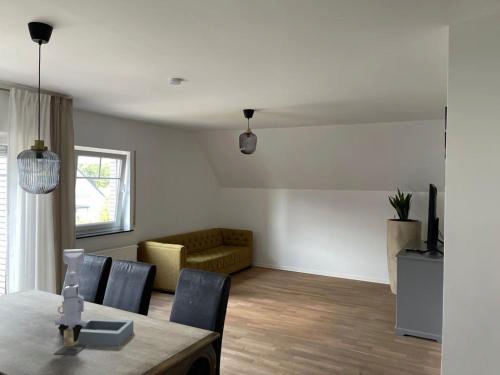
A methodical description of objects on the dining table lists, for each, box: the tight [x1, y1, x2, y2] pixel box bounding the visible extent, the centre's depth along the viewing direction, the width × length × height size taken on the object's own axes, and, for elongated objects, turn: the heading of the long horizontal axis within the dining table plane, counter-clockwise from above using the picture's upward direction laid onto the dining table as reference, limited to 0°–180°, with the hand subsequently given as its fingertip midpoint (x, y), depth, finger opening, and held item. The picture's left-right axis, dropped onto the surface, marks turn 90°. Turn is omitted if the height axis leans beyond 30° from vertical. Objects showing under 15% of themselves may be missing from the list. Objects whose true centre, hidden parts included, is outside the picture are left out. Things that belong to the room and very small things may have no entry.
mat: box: [53, 344, 87, 356], centre depth 179 cm, size 10×10×1 cm
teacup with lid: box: [57, 299, 64, 316], centre depth 224 cm, size 12×9×12 cm
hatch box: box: [76, 317, 134, 347], centre depth 194 cm, size 24×18×6 cm
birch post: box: [63, 327, 78, 346], centre depth 179 cm, size 4×4×7 cm
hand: (70, 340), depth 179 cm, fingers closed on birch post, 4 cm apart
